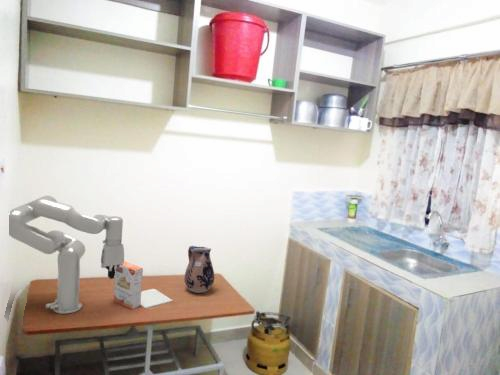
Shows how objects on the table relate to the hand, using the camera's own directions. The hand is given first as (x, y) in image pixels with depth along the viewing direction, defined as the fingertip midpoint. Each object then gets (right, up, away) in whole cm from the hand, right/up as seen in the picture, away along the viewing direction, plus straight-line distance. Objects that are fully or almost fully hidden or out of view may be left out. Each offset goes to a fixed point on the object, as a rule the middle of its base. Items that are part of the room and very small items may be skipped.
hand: (111, 277), depth 182 cm
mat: (+14, -16, +18) cm, 28 cm away
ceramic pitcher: (+37, -16, +37) cm, 55 cm away
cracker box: (+5, -16, +9) cm, 19 cm away
